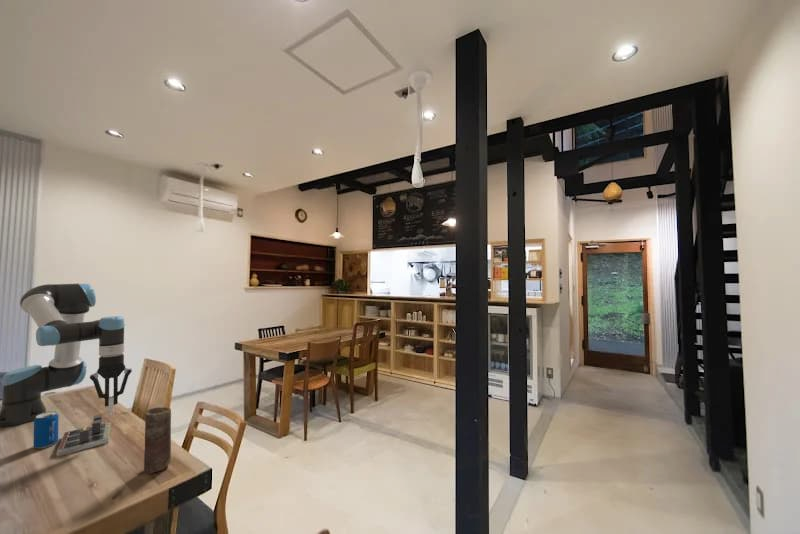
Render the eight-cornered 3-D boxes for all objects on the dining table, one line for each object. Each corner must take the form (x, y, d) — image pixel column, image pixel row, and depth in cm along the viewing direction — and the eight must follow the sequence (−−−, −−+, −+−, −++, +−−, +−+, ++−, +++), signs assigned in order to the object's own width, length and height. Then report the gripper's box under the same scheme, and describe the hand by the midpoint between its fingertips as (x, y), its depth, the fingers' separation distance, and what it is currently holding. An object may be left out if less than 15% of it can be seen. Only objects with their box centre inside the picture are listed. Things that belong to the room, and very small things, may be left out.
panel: (64, 437, 130) (64, 432, 130) (110, 426, 139) (110, 421, 139) (56, 456, 116) (56, 450, 116) (108, 443, 125) (108, 437, 125)
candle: (154, 461, 113) (154, 405, 113) (175, 460, 113) (176, 404, 114) (138, 475, 105) (139, 415, 106) (161, 474, 106) (162, 414, 106)
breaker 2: (92, 430, 130) (93, 420, 130) (100, 428, 132) (101, 419, 132) (92, 434, 128) (92, 424, 128) (100, 432, 129) (100, 422, 129)
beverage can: (41, 450, 120) (41, 418, 121) (28, 448, 122) (29, 417, 122) (62, 441, 127) (63, 411, 127) (50, 440, 128) (50, 410, 128)
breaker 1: (94, 425, 135) (94, 415, 135) (101, 423, 136) (102, 414, 136) (93, 428, 132) (93, 418, 132) (101, 426, 134) (101, 417, 134)
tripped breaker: (80, 438, 124) (80, 428, 124) (89, 436, 125) (89, 426, 125) (79, 442, 121) (79, 431, 121) (88, 440, 123) (88, 429, 123)
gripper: (88, 359, 122) (87, 421, 121) (132, 353, 130) (132, 411, 129) (90, 356, 127) (89, 415, 127) (132, 350, 136) (132, 405, 135)
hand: (111, 413), depth 128 cm, fingers closed
